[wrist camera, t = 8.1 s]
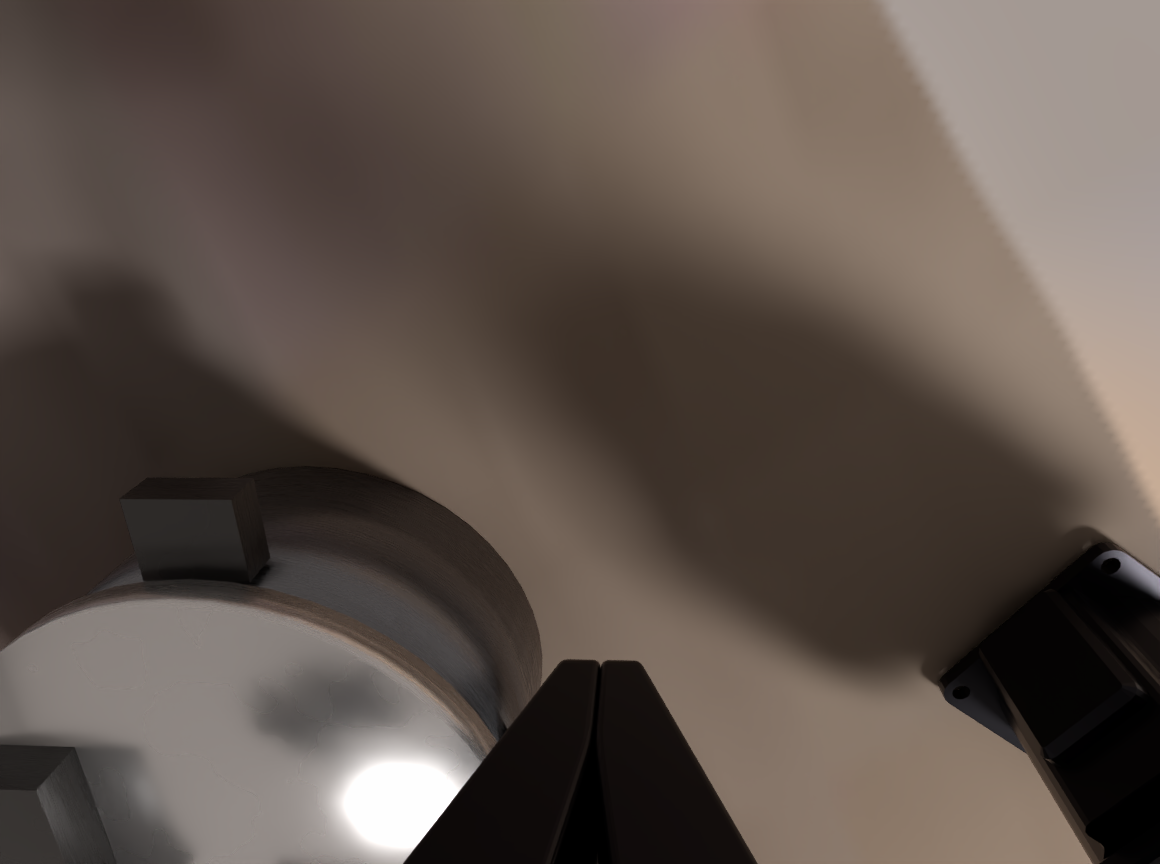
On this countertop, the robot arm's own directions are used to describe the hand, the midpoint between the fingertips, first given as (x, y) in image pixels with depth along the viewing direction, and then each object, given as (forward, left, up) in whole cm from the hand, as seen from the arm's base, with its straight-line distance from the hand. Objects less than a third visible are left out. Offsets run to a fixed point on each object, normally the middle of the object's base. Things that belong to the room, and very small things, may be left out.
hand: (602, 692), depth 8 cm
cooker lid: (+1, +13, -7) cm, 15 cm away
